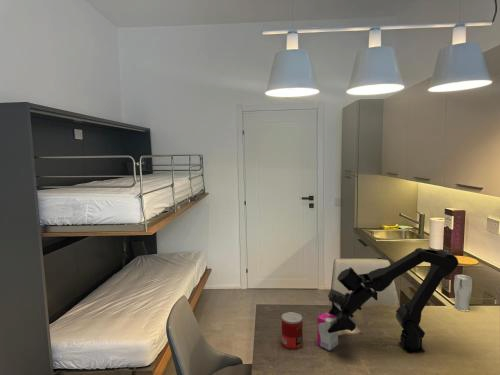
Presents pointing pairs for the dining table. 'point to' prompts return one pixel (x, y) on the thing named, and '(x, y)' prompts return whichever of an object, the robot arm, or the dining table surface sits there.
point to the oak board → (349, 332)
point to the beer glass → (462, 291)
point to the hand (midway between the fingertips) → (326, 326)
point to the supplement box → (326, 332)
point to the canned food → (292, 330)
